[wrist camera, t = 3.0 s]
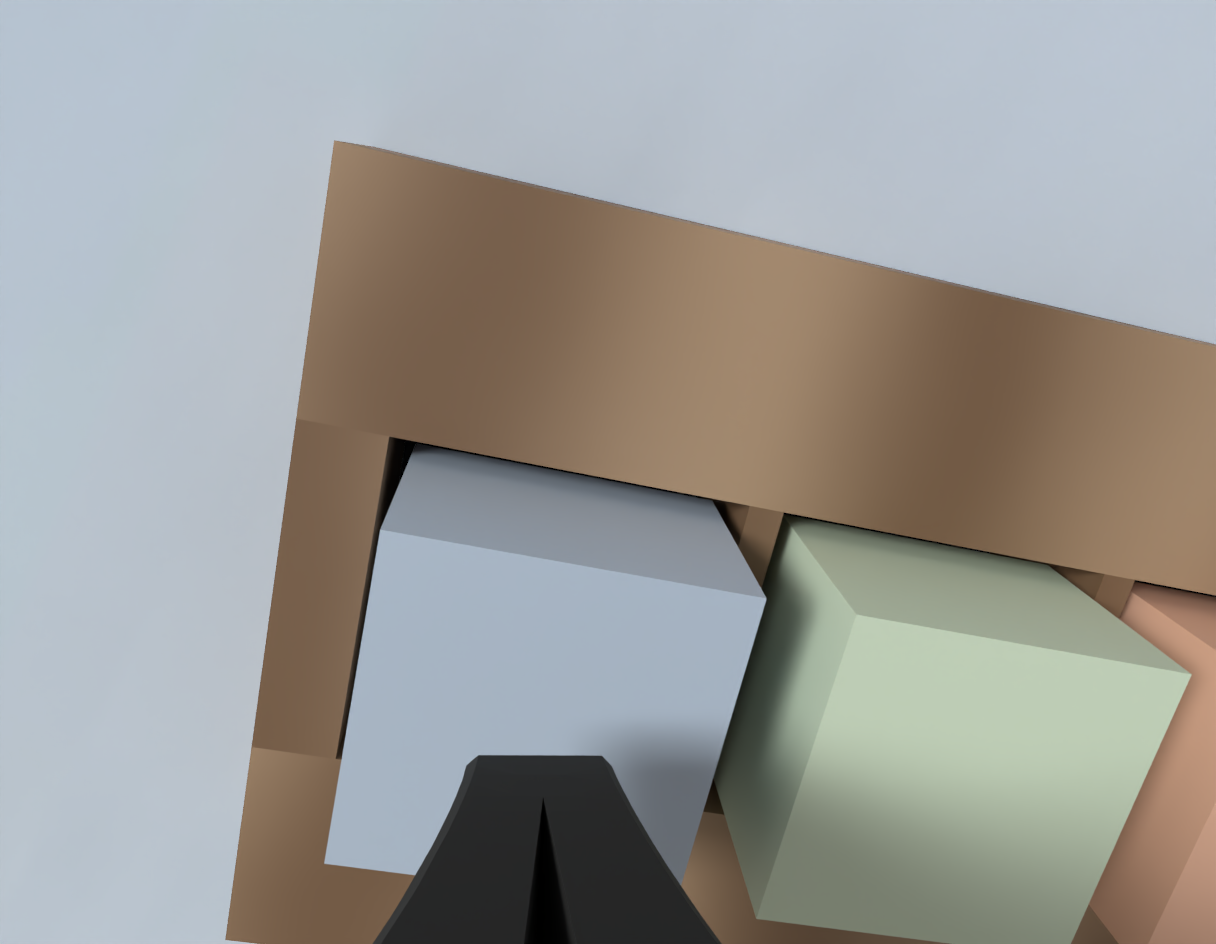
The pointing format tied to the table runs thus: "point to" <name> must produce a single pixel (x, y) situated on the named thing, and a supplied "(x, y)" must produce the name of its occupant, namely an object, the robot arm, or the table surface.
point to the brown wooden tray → (680, 449)
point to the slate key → (539, 648)
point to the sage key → (934, 740)
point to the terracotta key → (1170, 791)
